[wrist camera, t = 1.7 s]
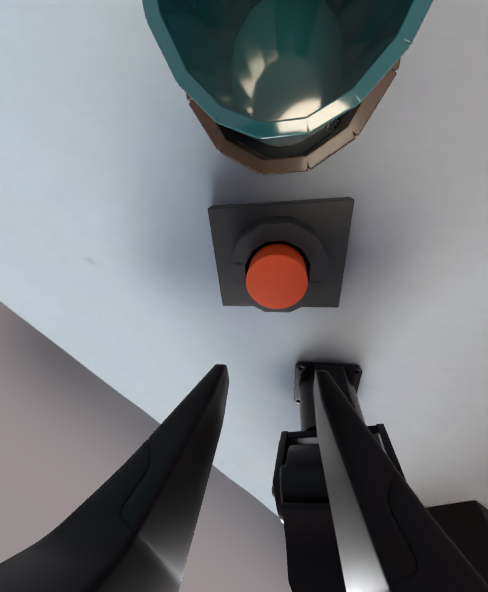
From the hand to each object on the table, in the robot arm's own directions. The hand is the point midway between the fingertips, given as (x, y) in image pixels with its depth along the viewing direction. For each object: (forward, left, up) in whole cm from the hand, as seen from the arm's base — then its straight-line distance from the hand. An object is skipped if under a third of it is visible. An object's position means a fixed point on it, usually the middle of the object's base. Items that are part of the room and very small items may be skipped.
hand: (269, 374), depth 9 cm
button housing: (0, 0, -12) cm, 12 cm away
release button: (0, 0, -9) cm, 9 cm away
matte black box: (-57, -34, -12) cm, 68 cm away
